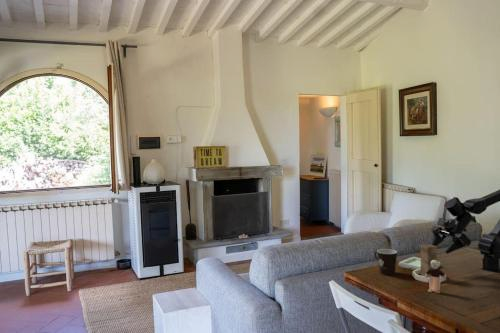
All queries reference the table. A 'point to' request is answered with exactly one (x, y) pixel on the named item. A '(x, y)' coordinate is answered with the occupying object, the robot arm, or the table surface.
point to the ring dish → (422, 278)
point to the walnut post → (427, 257)
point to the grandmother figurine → (434, 277)
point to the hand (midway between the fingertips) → (438, 250)
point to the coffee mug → (386, 261)
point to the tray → (411, 263)
